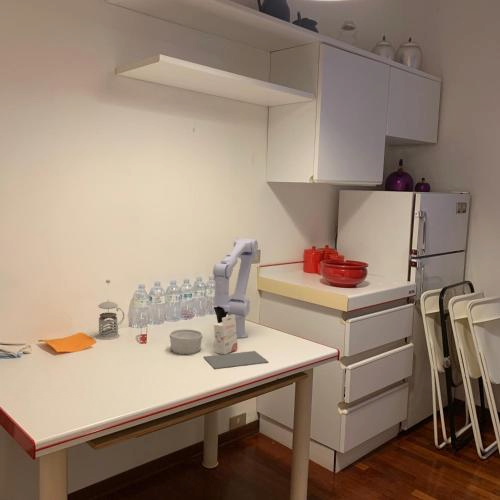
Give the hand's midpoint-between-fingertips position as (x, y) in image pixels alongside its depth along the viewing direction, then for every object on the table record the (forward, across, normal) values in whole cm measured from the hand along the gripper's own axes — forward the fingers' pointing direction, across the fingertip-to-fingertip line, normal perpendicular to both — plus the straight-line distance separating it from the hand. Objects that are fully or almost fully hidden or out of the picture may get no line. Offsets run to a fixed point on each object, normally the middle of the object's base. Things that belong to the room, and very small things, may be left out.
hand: (220, 324), depth 210 cm
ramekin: (+10, 0, -15) cm, 18 cm away
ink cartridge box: (+9, +7, 0) cm, 12 cm away
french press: (+10, -27, -41) cm, 50 cm away
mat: (+9, +17, 0) cm, 20 cm away
